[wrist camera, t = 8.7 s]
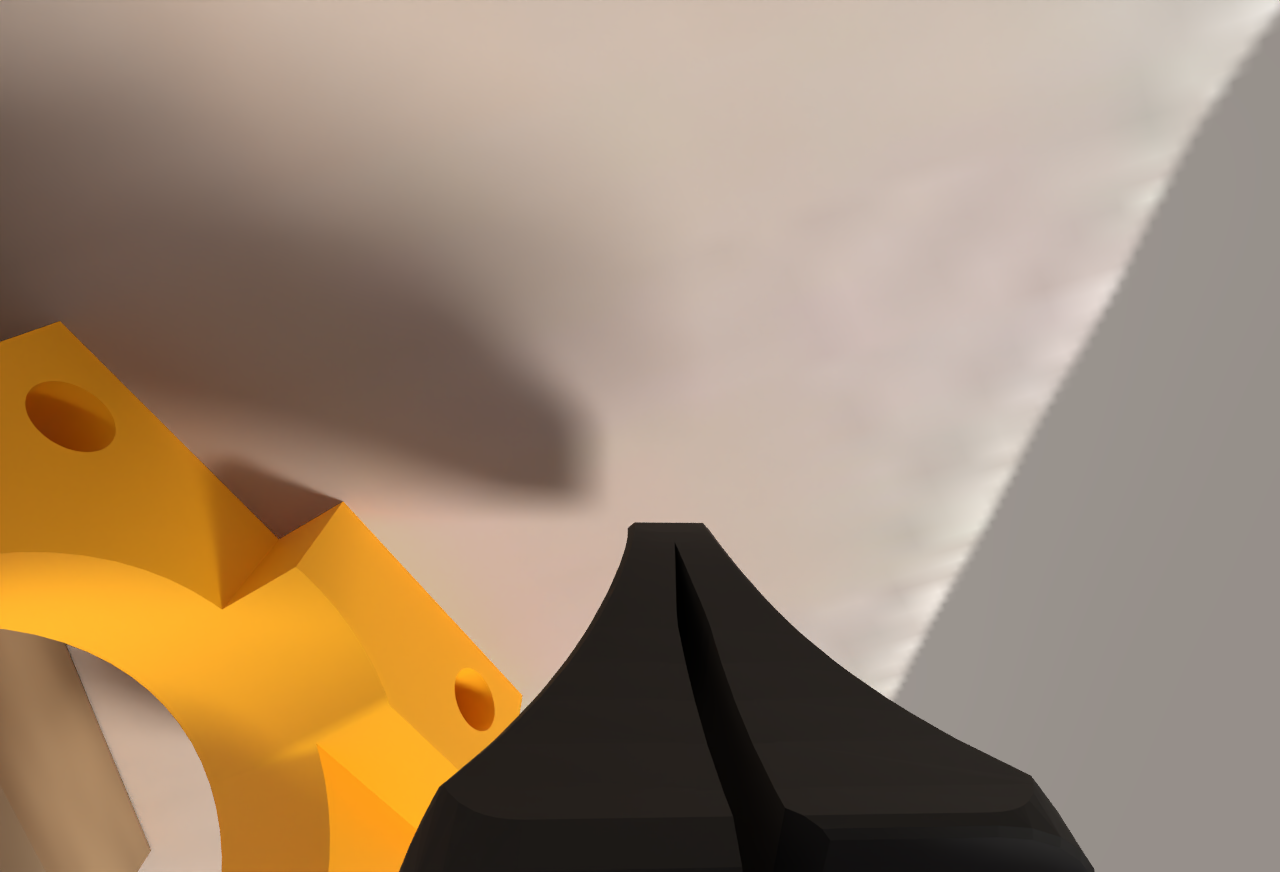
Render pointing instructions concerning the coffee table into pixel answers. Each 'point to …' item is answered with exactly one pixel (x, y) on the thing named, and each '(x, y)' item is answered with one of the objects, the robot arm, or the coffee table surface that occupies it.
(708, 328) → the coffee table surface
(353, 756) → the pipe clamp
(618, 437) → the coffee table surface
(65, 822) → the rail
